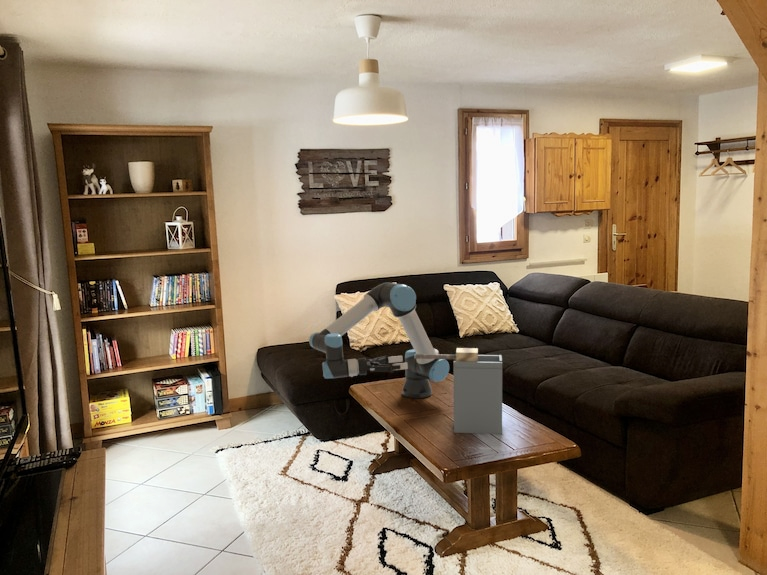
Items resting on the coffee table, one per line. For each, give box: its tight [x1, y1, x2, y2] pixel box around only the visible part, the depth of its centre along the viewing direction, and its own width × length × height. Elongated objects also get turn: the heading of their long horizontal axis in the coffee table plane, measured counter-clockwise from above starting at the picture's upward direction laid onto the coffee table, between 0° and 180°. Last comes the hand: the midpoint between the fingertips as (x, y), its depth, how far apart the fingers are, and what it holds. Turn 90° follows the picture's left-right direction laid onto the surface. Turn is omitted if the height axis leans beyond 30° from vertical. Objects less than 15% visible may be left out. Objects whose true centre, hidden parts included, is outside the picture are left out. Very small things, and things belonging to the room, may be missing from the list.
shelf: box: [453, 353, 503, 435], centre depth 264 cm, size 20×14×31 cm
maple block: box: [414, 347, 479, 362], centre depth 264 cm, size 27×8×6 cm, turn 81°
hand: (405, 362), depth 276 cm, fingers open, 13 cm apart
